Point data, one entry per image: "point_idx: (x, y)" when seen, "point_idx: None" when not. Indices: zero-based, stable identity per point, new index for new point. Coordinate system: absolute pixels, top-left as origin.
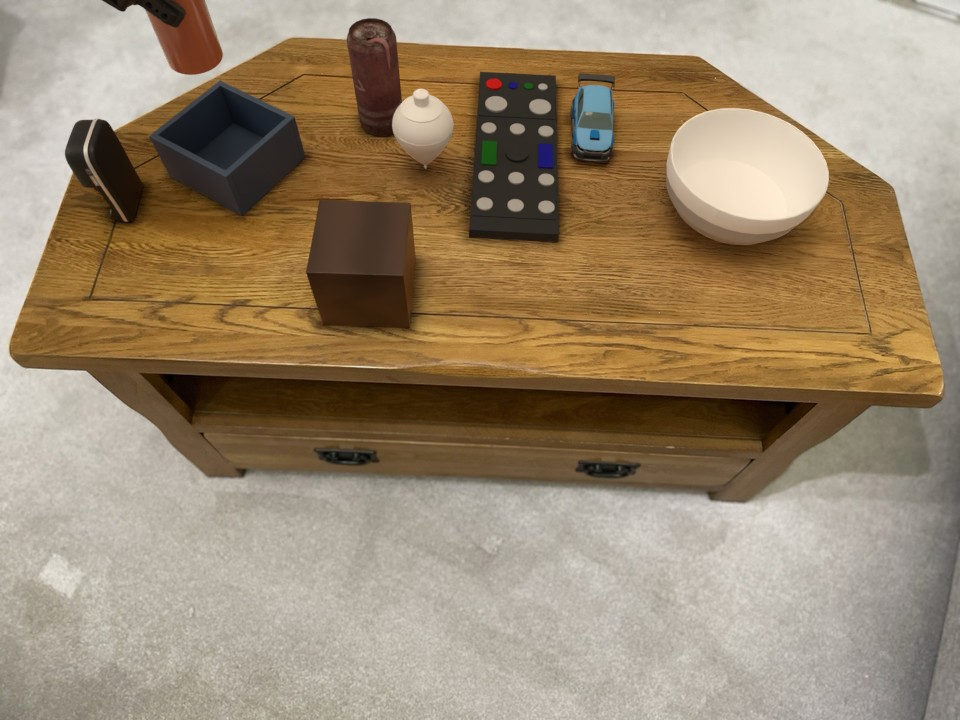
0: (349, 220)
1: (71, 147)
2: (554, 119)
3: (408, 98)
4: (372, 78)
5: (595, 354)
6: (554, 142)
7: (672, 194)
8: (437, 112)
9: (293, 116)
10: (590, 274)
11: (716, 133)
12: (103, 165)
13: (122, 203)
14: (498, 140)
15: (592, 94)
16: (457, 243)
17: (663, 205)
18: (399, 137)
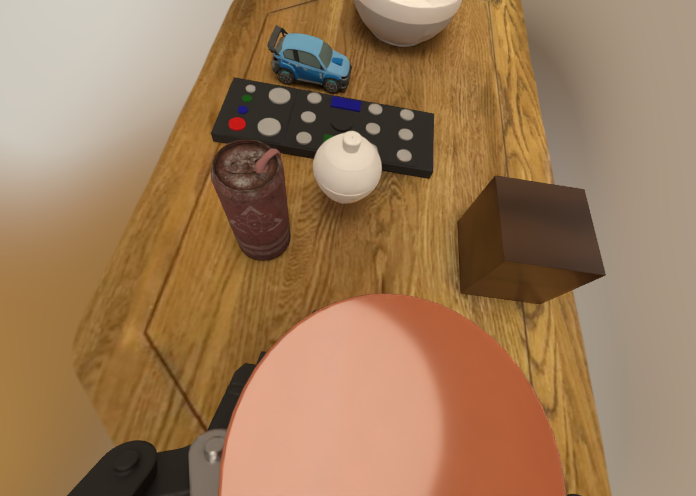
0: (529, 231)
1: None
2: (297, 90)
3: (336, 160)
4: (285, 198)
5: (527, 120)
6: (328, 95)
7: (419, 29)
8: (362, 137)
9: (314, 311)
10: (460, 108)
11: None
12: None
13: None
14: (321, 133)
15: (300, 43)
16: (436, 188)
17: (391, 55)
18: (368, 190)
